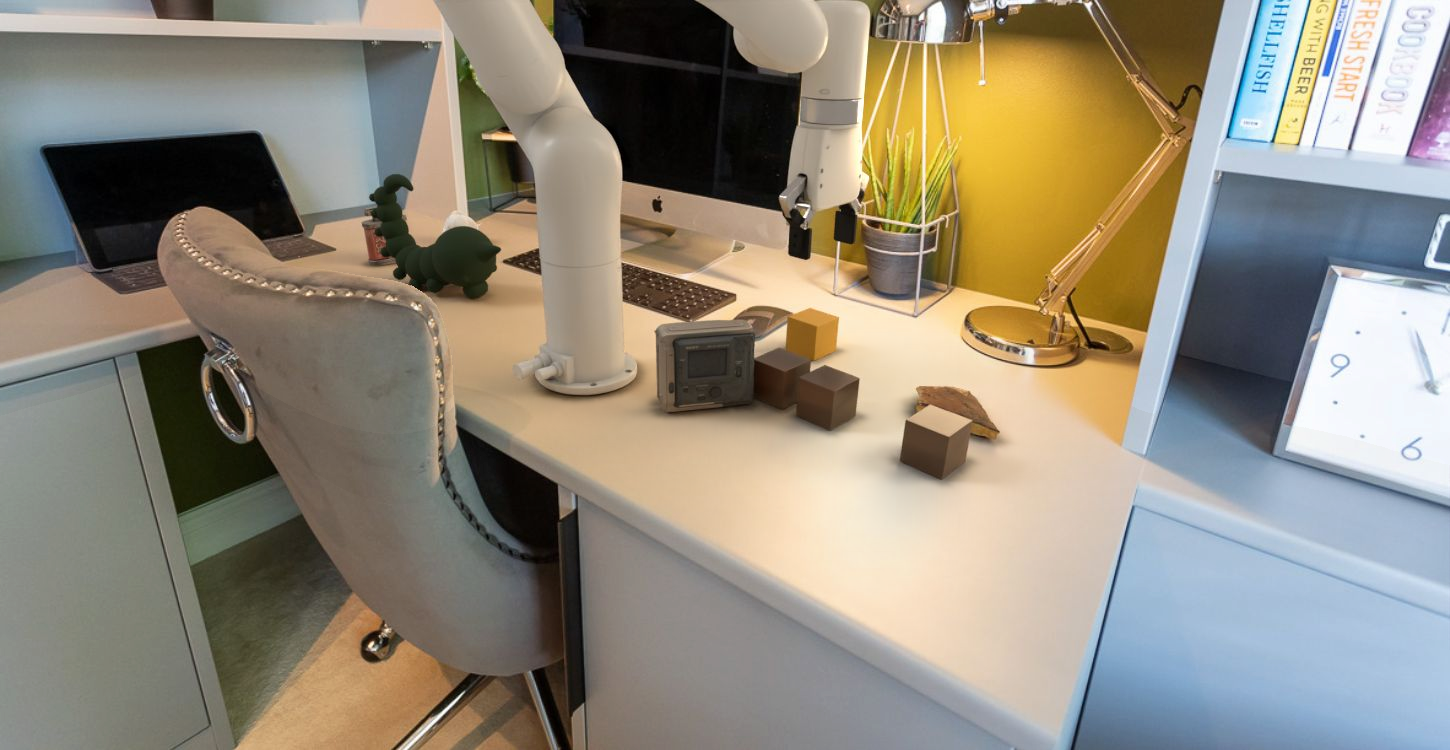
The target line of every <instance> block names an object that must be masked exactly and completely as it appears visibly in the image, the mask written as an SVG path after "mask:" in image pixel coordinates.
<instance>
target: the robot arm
mask: <svg viewBox="0 0 1450 750" xmlns="http://www.w3.org/2000/svg"><path fill="white" fill-rule="evenodd" d="M432 1H433V2H434V4H435V6H436V7H437V9H438V11H439V12H440V14H441V16H442V18H443V20H444V21H445V23H446V25H447V27H448V28H449V30H450V31H451V33H452V35H453V36H454V38H455V40H456V41H457V43H458V44H459V46H460V48H461V49H462V51H463V53H464V54H465V56H466V58H467V60H468V61H469V63H470V65H471V66H472V68H473V71H474V74H475V77H476V79H477V81H478V83H479V86H480V87H481V89H482V90H483V91H484V93H485V94H486V96H487V97H489V99H490V100H491V103H492V104H493V106H494V107H495V109H496V110H497V112H498V114H499V115H500V117H501V118H502V120H503V121H504V123H505V124H506V126H507V128H508V129H509V131H510V132H511V134H512V135H513V137H514V139H515V140H516V142H517V143H518V145H519V147H520V148H521V150H522V151H523V153H524V155H525V157H526V158H527V159H528V161H529V163H530V165H531V168H532V171H533V177H534V178H533V179H534V188H535V203H536V205H535V206H536V225H537V226H536V227H537V235H538V236H537V239H538V253H539V261H540V272H541V273H540V275H541V283H542V284H541V288H542V298H543V313H544V323H545V324H544V326H545V338H546V342H545V343H543V344H540V345H539V346H538V347H539V348H538V349H539V353H537V354H536V355H534V358H533V359H529V360H527V359H526V360H524V361H521V362H517V363H515V364H513V365H512V372H513V375H514V376H515V377H516V379H517V380H523V379H527V378H528V377H531V376H535V378H536V380H537V381H538V383H539V384H541V385H542V386H543V387H544V388H546V389H548V390H550V391H553V392H556V393H558V394H565V395H573V396H591V395H600V394H605V393H609V392H614V391H616V390H620V389H622V388H624V387H625V386H627V385H629V384H630V383H632V382H633V381H634V380H635V378H636V377H637V374H638V363H637V361H636V359H635V358H634V357H633V356H632V355H630V354H629V353H627V352H625V332H624V331H625V330H624V329H625V328H624V301H623V300H624V299H623V297H624V296H623V269H622V268H623V267H622V263H623V262H622V246H621V245H622V244H621V240H622V239H621V209H622V208H621V207H622V206H621V205H622V191H623V163H622V159H621V153H620V151H619V148H618V145H617V143H616V140H615V139H614V137H613V135H612V134H611V133H610V131H609V130H608V129H607V128H606V127H605V126H604V125H603V124H602V123H600V121H598V120H597V119H596V118H595V117H594V116H593V114H592V112H591V111H590V109H589V107H588V106H587V104H586V102H585V101H584V99H583V97H582V95H581V93H580V91H579V90H578V88H577V86H576V84H575V83H574V81H573V79H572V77H571V75H570V74H569V72H568V70H567V69H566V64H565V58H564V55H563V53H562V50H561V48H560V46H559V44H558V42H557V41H556V39H555V38H554V36H552V34H551V33H550V32H549V30H548V29H547V27H546V25H545V24H544V22H543V21H542V19H541V17H540V15H539V14H538V12H537V11H536V9H535V7H534V5H533V4H532V2H531V0H432ZM695 1H696V2H698V3H699V4H701V5H703V6H704V7H706V8H707V9H709V10H710V11H712V12H713V13H715V14H716V15H718V16H719V17H720V18H721V19H723V20H724V21H726V22H727V23H728V24H730V25H731V26H732V27H733V41H734V45H735V47H736V50H737V51H738V53H739V54H740V55H741V56H742V57H743V59H745V60H746V61H747V62H748V63H750V64H752V65H754V66H756V67H760V68H764V69H768V70H773V71H777V72H783V73H788V74H798V73H801V85H800V86H801V87H800V96H801V97H800V107H799V109H800V110H799V125H796V128H795V131H794V134H793V139H792V143H791V149H790V155H789V156H790V157H789V165H788V174H787V185H786V188H785V189H784V190H783V191H781V193H780V194H779V196H778V202H779V205H780V208H781V211H782V212H781V213H782V216H783V218H784V219H785V224H786V226H788V244H787V245H788V246H787V254H788V256H790V257H792V258H796V259H799V260H803V261H807V260H810V259H811V255H812V240H813V239H812V238H813V228H811V227H810V226H811V223H812V221H813V219H814V217H815V215H816V213H817V212H821V211H825V210H828V209H833V208H836V207H837V208H838V210H835V215H834V224H833V225H834V226H833V240H834V241H835V242H839V243H843V244H847V245H854V244H855V243H856V239H857V238H856V237H857V227H858V215H859V213H861V209H862V206H861V204H862V202H863V200H864V198H865V195H866V192H865V191H866V189H867V187H868V183H869V180H870V177H869V175H868V174H866V173H865V172H863V133H862V131H863V130H862V127H863V125H862V123H863V112H864V102H865V101H864V99H865V98H864V97H865V87H866V86H865V85H866V77H867V76H866V74H867V63H868V62H867V61H868V51H869V39H870V38H869V36H870V25H871V11H870V8H869V5H867V4H866V3H865V2H863V1H860V0H695ZM802 211H804V214H803V215H802V213H801V212H802Z"/></svg>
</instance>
